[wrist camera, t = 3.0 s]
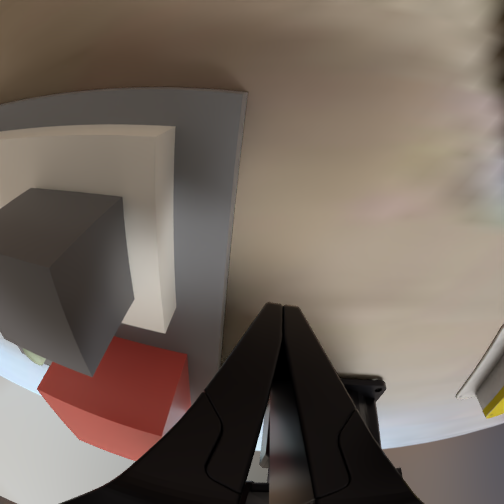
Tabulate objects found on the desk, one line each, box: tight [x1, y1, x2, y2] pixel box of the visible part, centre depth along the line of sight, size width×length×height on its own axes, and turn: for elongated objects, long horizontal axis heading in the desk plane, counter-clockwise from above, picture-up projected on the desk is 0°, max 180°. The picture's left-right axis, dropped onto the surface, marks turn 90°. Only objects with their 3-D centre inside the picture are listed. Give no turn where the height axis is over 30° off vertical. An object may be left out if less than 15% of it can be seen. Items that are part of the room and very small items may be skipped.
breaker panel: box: [0, 87, 248, 406], centre depth 13 cm, size 17×19×3 cm
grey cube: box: [0, 188, 135, 377], centre depth 8 cm, size 4×4×4 cm
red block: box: [37, 336, 191, 461], centre depth 15 cm, size 7×7×5 cm
